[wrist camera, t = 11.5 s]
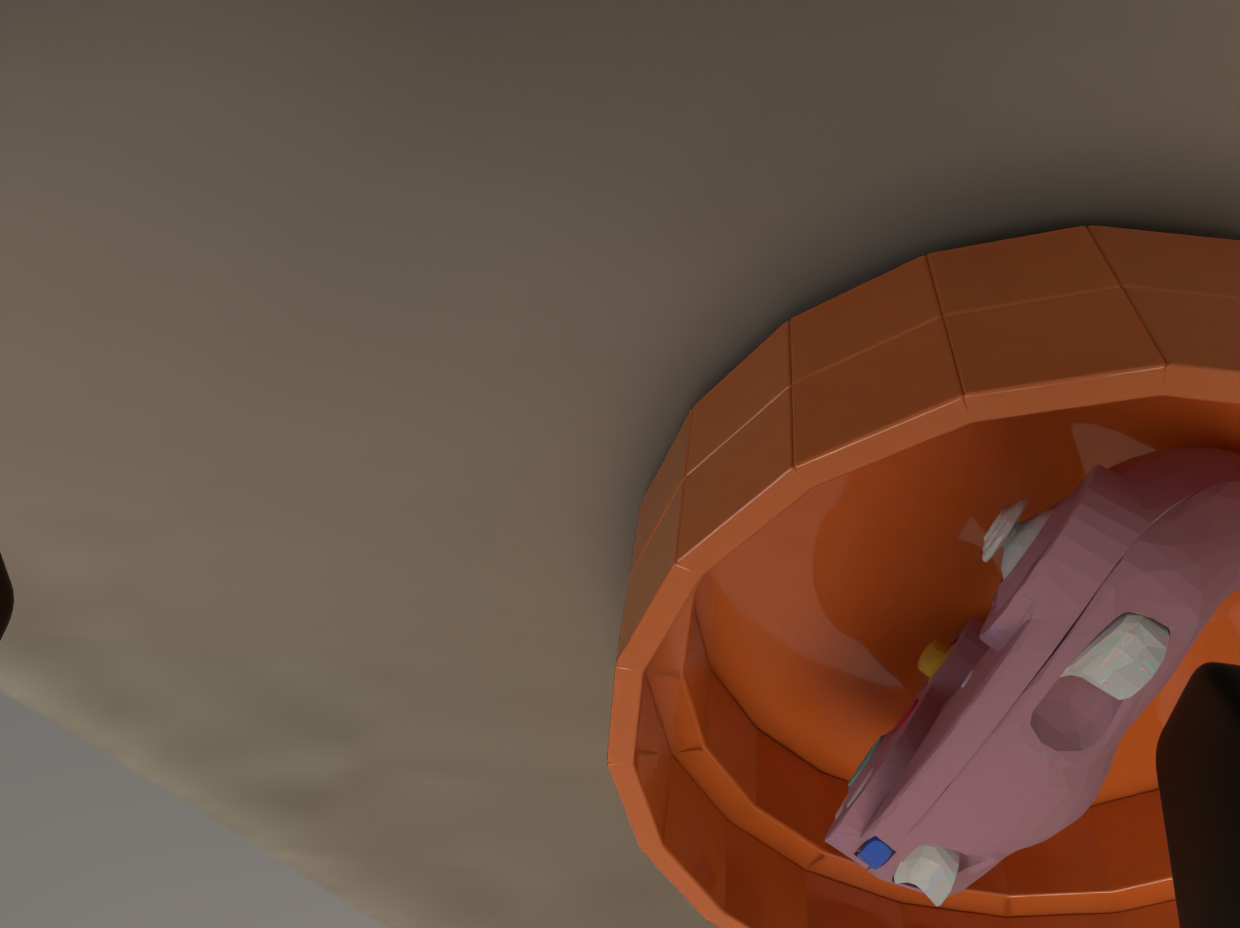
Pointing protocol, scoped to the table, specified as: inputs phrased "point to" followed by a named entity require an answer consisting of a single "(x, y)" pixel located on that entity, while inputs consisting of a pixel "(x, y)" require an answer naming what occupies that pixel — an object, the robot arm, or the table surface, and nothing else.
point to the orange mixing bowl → (903, 565)
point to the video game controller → (1047, 670)
